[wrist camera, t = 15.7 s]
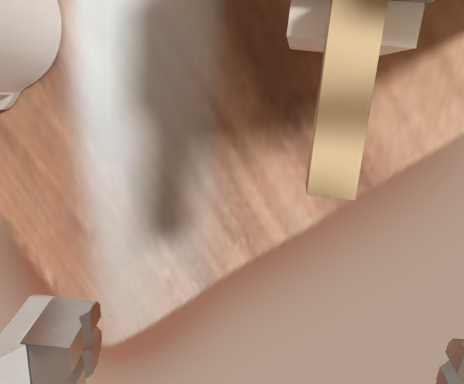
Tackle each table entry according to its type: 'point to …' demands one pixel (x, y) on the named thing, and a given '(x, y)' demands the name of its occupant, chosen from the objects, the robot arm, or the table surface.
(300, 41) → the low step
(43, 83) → the table surface
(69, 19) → the table surface
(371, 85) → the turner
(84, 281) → the table surface
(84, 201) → the table surface
